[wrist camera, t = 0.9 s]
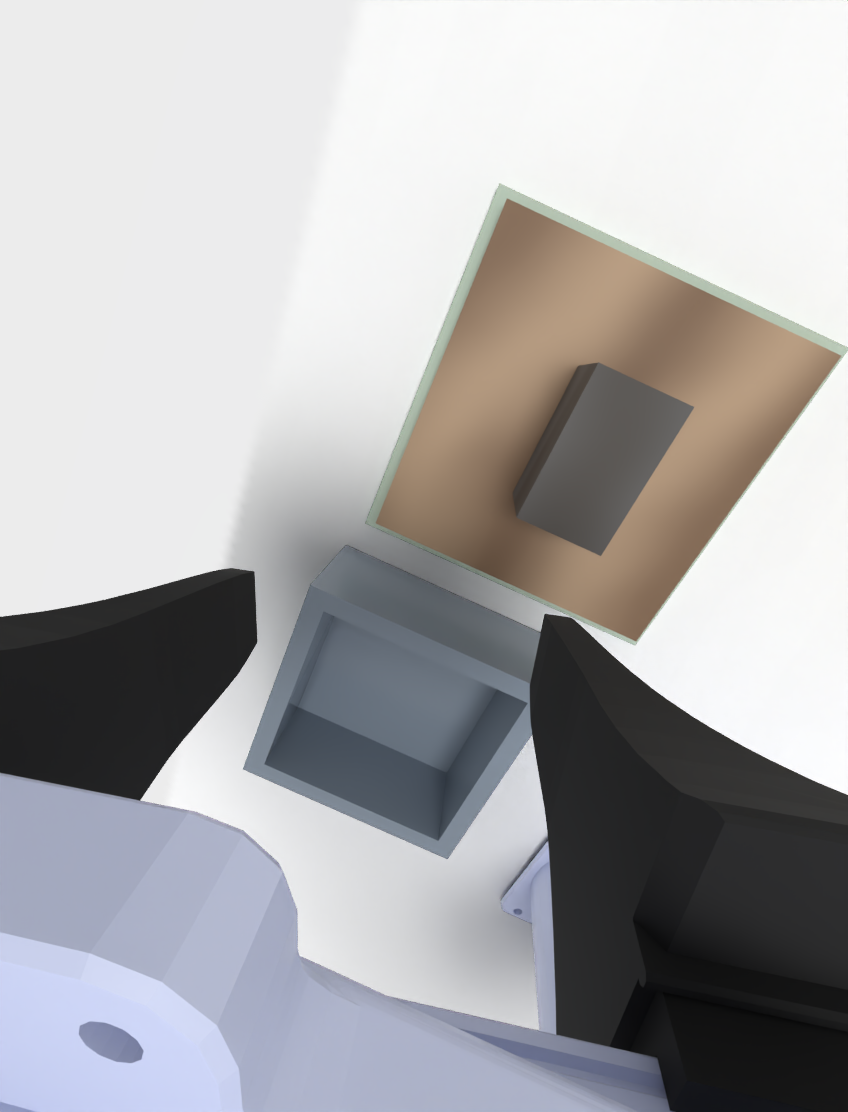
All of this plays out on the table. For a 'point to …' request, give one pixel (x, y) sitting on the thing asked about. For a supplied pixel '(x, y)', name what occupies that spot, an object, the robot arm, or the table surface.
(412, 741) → the slate dish
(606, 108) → the table surface
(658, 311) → the walnut lid
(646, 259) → the sage mat
